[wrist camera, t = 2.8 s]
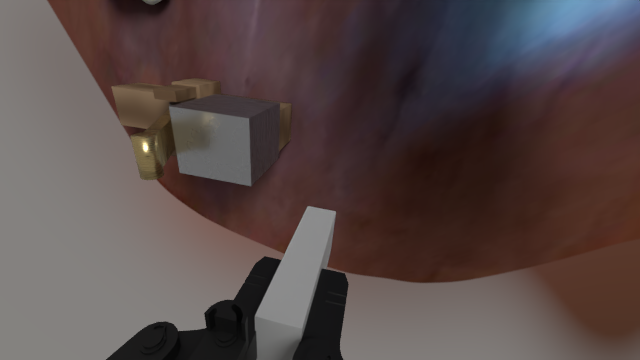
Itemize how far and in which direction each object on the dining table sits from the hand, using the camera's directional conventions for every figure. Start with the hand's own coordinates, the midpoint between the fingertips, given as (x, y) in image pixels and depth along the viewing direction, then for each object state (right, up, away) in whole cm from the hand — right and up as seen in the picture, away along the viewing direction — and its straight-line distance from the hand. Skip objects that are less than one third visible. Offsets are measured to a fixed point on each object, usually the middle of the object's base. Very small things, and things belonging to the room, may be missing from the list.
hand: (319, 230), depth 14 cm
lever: (-15, +9, +14) cm, 22 cm away
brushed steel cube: (-8, +8, +15) cm, 18 cm away
